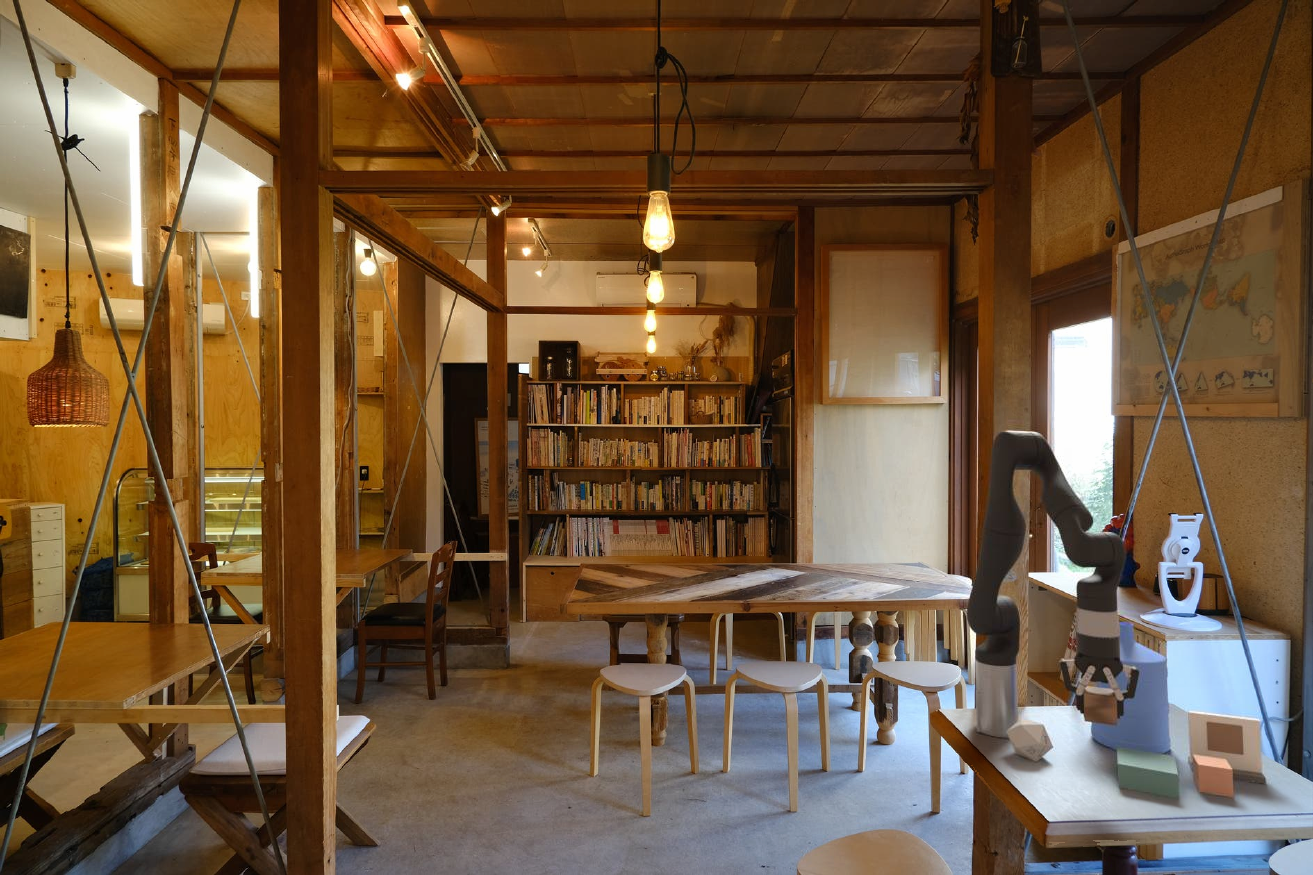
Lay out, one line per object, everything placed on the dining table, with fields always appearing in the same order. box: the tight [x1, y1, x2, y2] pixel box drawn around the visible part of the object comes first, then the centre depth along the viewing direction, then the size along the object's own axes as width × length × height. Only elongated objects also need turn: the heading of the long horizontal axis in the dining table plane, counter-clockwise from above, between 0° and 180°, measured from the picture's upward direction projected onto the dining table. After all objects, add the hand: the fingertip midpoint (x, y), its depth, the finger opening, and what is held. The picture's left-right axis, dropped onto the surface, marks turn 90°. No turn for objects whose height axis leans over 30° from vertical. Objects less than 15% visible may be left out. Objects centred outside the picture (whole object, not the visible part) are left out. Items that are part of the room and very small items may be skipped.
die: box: [1006, 717, 1054, 762], centre depth 162 cm, size 8×9×10 cm
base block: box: [1116, 747, 1180, 799], centre depth 148 cm, size 10×10×5 cm
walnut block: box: [1082, 685, 1117, 726], centre depth 144 cm, size 6×6×6 cm
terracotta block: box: [1192, 754, 1235, 798], centre depth 145 cm, size 6×6×6 cm
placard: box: [1187, 710, 1267, 784], centre depth 152 cm, size 12×6×12 cm, turn 63°
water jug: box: [1090, 621, 1171, 754], centre depth 168 cm, size 16×16×28 cm
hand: (1099, 714), depth 144 cm, fingers closed on walnut block, 5 cm apart
